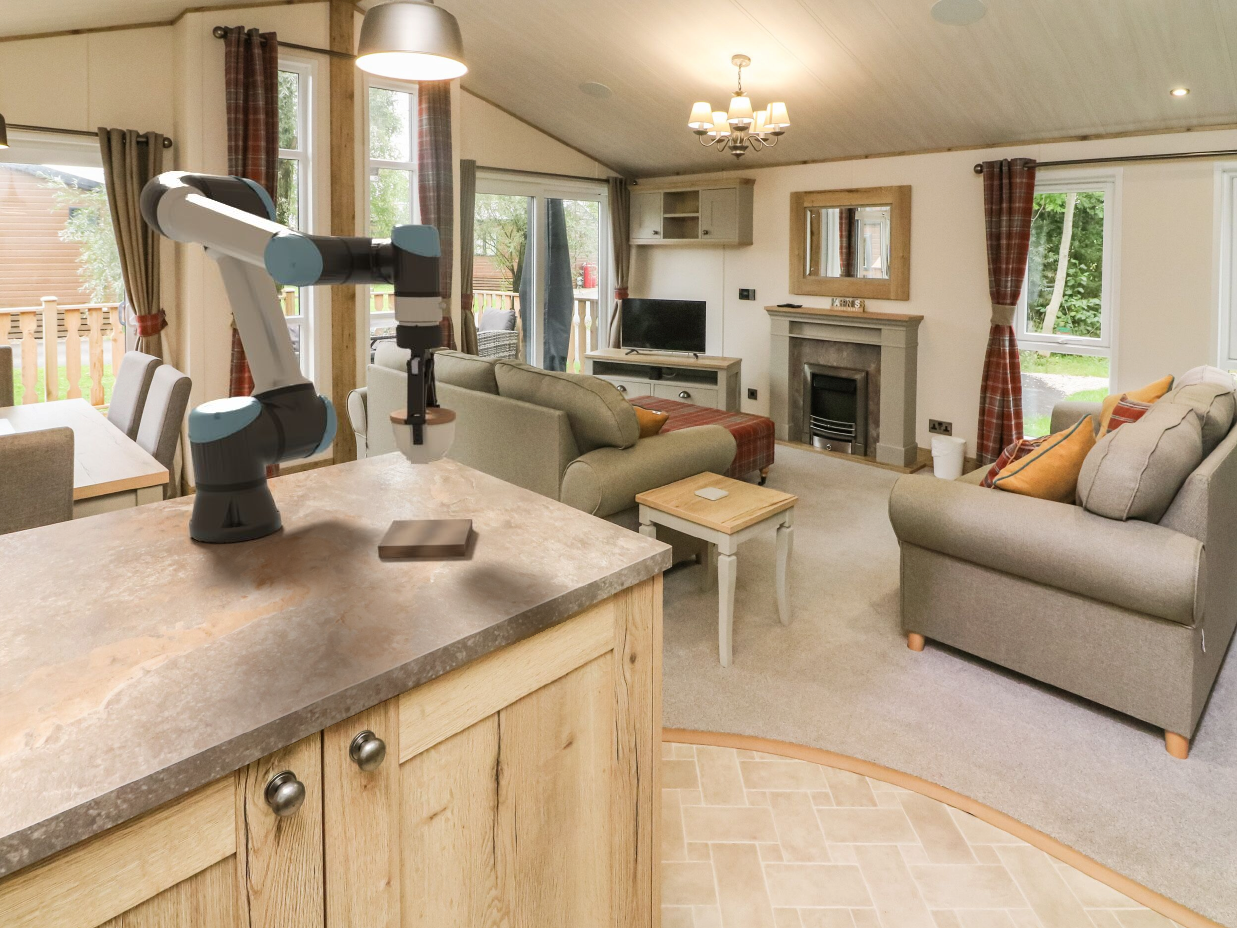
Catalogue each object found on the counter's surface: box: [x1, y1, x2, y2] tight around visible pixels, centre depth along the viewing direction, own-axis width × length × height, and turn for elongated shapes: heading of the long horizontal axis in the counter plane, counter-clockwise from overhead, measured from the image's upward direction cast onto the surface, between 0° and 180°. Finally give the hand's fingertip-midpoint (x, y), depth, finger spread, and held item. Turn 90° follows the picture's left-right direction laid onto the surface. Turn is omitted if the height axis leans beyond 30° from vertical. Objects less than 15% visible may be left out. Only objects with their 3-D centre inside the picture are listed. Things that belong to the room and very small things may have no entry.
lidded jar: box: [389, 407, 457, 463], centre depth 140 cm, size 11×11×9 cm
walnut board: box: [377, 518, 474, 559], centre depth 144 cm, size 14×14×2 cm
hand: (424, 455), depth 141 cm, fingers closed on lidded jar, 11 cm apart
